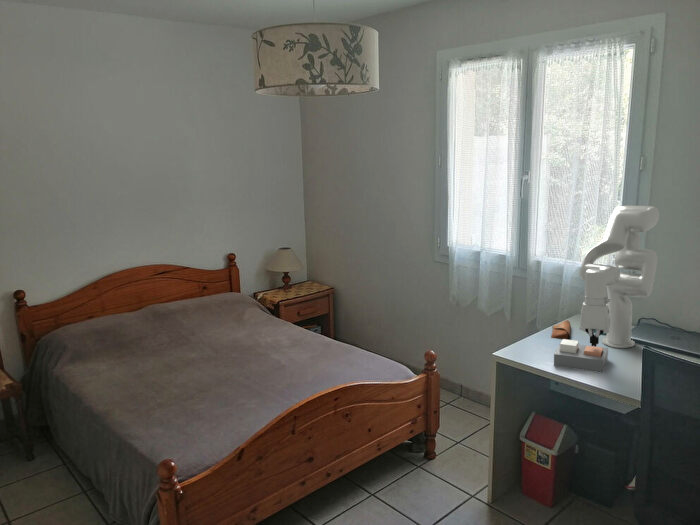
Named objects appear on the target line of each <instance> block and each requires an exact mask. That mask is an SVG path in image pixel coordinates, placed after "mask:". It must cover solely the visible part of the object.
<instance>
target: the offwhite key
mask: <svg viewBox="0 0 700 525" xmlns="http://www.w3.org/2000/svg"><path fill="white" fill-rule="evenodd" d="M559 344H560V351H562V352H569V353H577V351H578V344H580V343H579V340H573V339H561V341H560V343H559Z"/></svg>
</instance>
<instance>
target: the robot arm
mask: <svg viewBox="0 0 700 525" xmlns="http://www.w3.org/2000/svg"><path fill="white" fill-rule="evenodd" d="M659 211H660V210H659V209H658V208H657V207H655V206H652V205H620V206H617V207H615V208H614V209H613V212H612V214H611V215H610V217H609V220H608V222H607V224H606V229H605V231H604V234H603V237H602V240H601V241H600V242H598V243H596V244H595V245H594V246H593V247H592V248H591V249H589V250H588V251H587V252H586V253H585V256H584V257H583V261H582V263H581V266H580V268H579V269H580V270H579V276H580V279H581V280H582V281H583V282H584V301H583V302H582V305H581V310H580V321H579V322H580V323H579V324H580V326H579V330H581V331H583V332H586V334H588V336H589V344H591V345H590V346H595V347H597V345H598V344H599V342H600V340H599V337H600V336H602V334H603V333H607V335H605V337H602V340H601V342H602V343H603V344H604V345H605V346H608V347H611V348H616V349H617V348H619V349H629V348H632V347H634V346H635V344H636V342H635V340H634V339H632V322H633V321H632V320H633V303H632V300H631V299H630V298H629V297H637V298H648V297H650V295H651V294H652V291H653V286H654V280H655V276H656V271H657V265H658V256H657V255H658V254H657V253H656V252H655V251H654V250H653V249H647V248H640V247H641V241H642V238H641V235H640V233H646V232H648V231H649V230H650V229H652V228H654V227H655V226H656V225H657V224H658V221H659V220H660V212H659ZM611 254H615V257H614V265H609V264H599V263H594V262H596V261H597V260H598V259H600V258H602V257H604V256H607V255H611ZM620 270H625V271H631V272H625V271H620ZM634 272H640V273H634ZM594 330H595V331H596V330H597V331H596V332H595V333H594ZM631 339H632V340H631ZM633 340H634V341H633Z"/></svg>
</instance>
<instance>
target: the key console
mask: <svg viewBox="0 0 700 525" xmlns="http://www.w3.org/2000/svg"><path fill="white" fill-rule="evenodd" d="M586 346H588V345H584V344H580V343H578V351H577V353H569V352H562V351H560V343H559V345H558V346H557V348H556V350H555V352H554V354H553V366H554V367H561V368H562V367H563V368H568V369H573V370H574V369H575V370H580V371H587V372H588V371H589V372H594V373H595V372H596V373H601V374H604V372H605V368H606V366H607V362H608V360H609V359H608V356H609V347H601V348H603V354H602V357H600V356H592V355H584V350H585V348H586ZM593 347H595V346H593Z"/></svg>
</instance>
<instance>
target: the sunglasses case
mask: <svg viewBox="0 0 700 525" xmlns="http://www.w3.org/2000/svg"><path fill="white" fill-rule="evenodd" d="M571 325H572V324H571V322H570V321H569V320H568V319H567V320H564V321H562V322H560V323H558V324H554V325H552V332H551V335H550V338H551V339H559V340H560V339H561V340H563V339H566V340H571V329H572V328H571Z"/></svg>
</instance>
